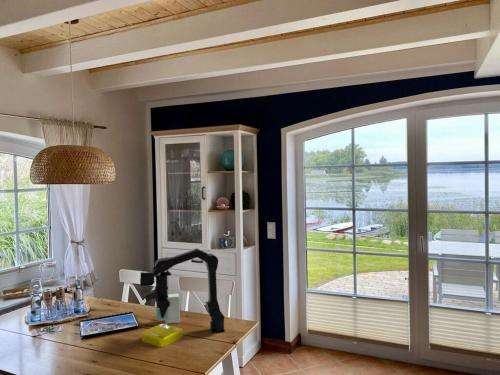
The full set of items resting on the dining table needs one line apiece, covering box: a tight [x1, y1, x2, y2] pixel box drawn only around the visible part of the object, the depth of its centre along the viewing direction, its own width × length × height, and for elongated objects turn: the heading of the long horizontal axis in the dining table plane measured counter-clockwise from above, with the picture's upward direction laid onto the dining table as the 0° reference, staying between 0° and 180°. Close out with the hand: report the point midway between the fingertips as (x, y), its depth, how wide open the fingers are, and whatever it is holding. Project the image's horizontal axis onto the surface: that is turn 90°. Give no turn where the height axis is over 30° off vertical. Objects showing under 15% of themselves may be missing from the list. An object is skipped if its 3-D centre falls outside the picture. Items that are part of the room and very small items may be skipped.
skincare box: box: [164, 292, 181, 325], centre depth 209 cm, size 8×6×15 cm
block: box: [155, 306, 168, 321], centre depth 187 cm, size 5×5×5 cm
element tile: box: [141, 322, 183, 348], centre depth 187 cm, size 15×15×5 cm
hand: (162, 315), depth 187 cm, fingers closed on block, 5 cm apart
